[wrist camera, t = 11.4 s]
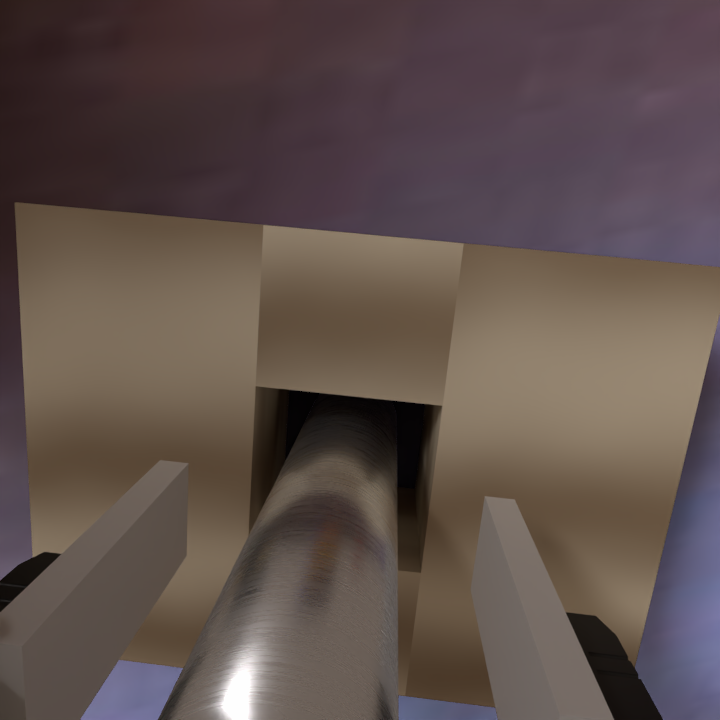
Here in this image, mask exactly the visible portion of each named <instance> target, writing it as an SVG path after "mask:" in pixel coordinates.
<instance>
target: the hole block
mask: <svg viewBox="0 0 720 720" xmlns="http://www.w3.org/2000/svg"><path fill="white" fill-rule="evenodd" d="M15 219H16V239H17V258H18V278H19V298H20V317H21V337H22V356H23V376H24V396H25V415H26V435H27V454H28V474H29V494H30V513H31V533H32V552H33V557H35V556H37V555H39V554H41V553H43V552H50V553H59V554H62V553H63V552H64V551H65V550H66V549H67V548H68V547H69V546H70V545H72V544H73V543H74V542H75V541H76V540H77V539H78V538H79V537H80V536H81V535H82V534H83V533H84V532H85V531H86V530H87V529H88V528H89V527H90V526H91V525H93V524H94V523H95V522H96V521H97V520H98V519H99V518H100V517H101V516H102V515H103V514H104V513H105V512H106V511H107V510H108V509H109V508H110V507H111V506H112V505H114V504H115V503H116V502H117V501H118V500H119V499H120V498H121V497H122V496H123V495H124V494H125V493H126V492H127V491H128V490H129V489H130V488H131V487H132V486H133V485H135V484H136V483H137V482H138V481H139V480H140V479H141V478H142V477H143V476H144V475H145V474H146V473H147V472H148V471H149V470H150V469H151V468H152V467H153V466H154V465H156V464H157V463H158V462H159V461H160V460H164V461H173V462H182V463H189V464H188V514H187V556H186V558H185V559H184V561H183V562H182V564H181V565H180V567H179V568H178V570H177V572H176V573H175V575H174V576H173V578H172V579H171V581H170V582H169V584H168V585H167V587H166V588H165V590H164V591H163V593H162V595H161V596H160V598H159V599H158V601H157V602H156V604H155V605H154V607H153V608H152V610H151V611H150V613H149V614H148V616H147V617H146V619H145V621H144V622H143V624H142V625H141V627H140V628H139V630H138V631H137V633H136V634H135V636H134V637H133V639H132V640H131V642H130V644H129V645H128V647H127V648H126V650H125V651H124V653H123V654H122V656H121V657H120V659H119V660H126V661H133V662H141V663H149V664H157V665H165V666H173V667H181V668H184V666H185V664H186V662H187V660H188V658H189V656H190V654H191V652H192V650H193V648H194V646H195V644H196V642H197V639H198V637H199V635H200V633H201V631H202V629H203V627H204V625H205V623H206V621H207V619H208V617H209V615H210V613H211V611H212V609H213V607H214V605H215V603H216V601H217V599H218V597H219V595H220V593H221V591H222V589H223V587H224V585H225V583H226V581H227V579H228V577H229V575H230V572H231V570H232V568H233V566H234V564H235V562H236V560H237V558H238V556H239V554H240V552H241V550H242V548H243V546H244V544H245V542H246V540H247V538H248V536H249V534H250V532H251V530H252V528H253V526H254V524H255V522H256V520H257V518H258V516H259V514H260V512H261V510H262V508H263V505H264V503H265V501H266V499H267V497H268V495H269V493H270V491H271V489H272V487H273V485H274V483H275V481H276V479H277V477H278V475H279V473H280V471H281V469H282V467H283V465H284V463H285V456H286V440H287V424H288V408H289V392H290V390H297V391H306V392H316V393H326V394H335V395H345V396H354V397H364V398H373V399H383V400H392V401H402V402H412V403H421V404H425V407H424V416H423V424H422V432H421V440H420V448H419V457H418V465H417V473H416V481H415V489H414V488H405V487H397V519H398V695H401V696H409V697H417V698H425V699H433V700H440V701H448V702H456V703H464V704H472V705H480V706H488V707H495V703H494V698H493V694H492V689H491V684H490V679H489V675H488V670H487V665H486V661H485V656H484V651H483V646H482V642H481V637H480V632H479V628H478V623H477V618H476V613H475V609H474V604H473V599H472V594H471V590H470V589H471V583H472V576H473V570H474V563H475V557H476V550H477V544H478V537H479V531H480V524H481V518H482V511H483V505H484V498H485V496H488V497H497V498H506V499H515V501H516V504H517V506H518V508H519V510H520V512H521V515H522V517H523V519H524V521H525V524H526V526H527V528H528V530H529V532H530V535H531V537H532V539H533V541H534V543H535V546H536V548H537V550H538V552H539V555H540V557H541V559H542V561H543V563H544V566H545V568H546V570H547V572H548V574H549V577H550V579H551V581H552V583H553V586H554V588H555V590H556V592H557V594H558V597H559V599H560V601H561V603H562V605H563V608H564V610H565V612H569V613H577V614H585V615H594V616H597V617H598V618H599V619H600V620H601V621H602V622H603V623H604V624H605V625H606V626H607V627H608V628H609V629H610V630H611V631H612V632H613V633H615V634H616V636H617V637H618V639H619V641H620V643H621V645H622V646H623V648H624V650H625V652H626V654H627V655H628V660H629V661H631V663H632V664H633V666H634V668H635V664H636V660H637V656H638V652H639V648H640V643H641V639H642V635H643V631H644V627H645V623H646V618H647V614H648V610H649V606H650V602H651V598H652V593H653V589H654V585H655V581H656V577H657V573H658V568H659V564H660V560H661V556H662V552H663V548H664V543H665V539H666V535H667V531H668V527H669V523H670V518H671V514H672V510H673V506H674V502H675V497H676V493H677V489H678V485H679V481H680V477H681V472H682V468H683V464H684V460H685V456H686V452H687V447H688V443H689V439H690V435H691V431H692V427H693V422H694V418H695V414H696V410H697V406H698V402H699V397H700V393H701V389H702V385H703V381H704V377H705V372H706V368H707V364H708V360H709V356H710V352H711V347H712V343H713V339H714V335H715V331H716V327H717V322H718V318H719V314H720V267H712V266H702V265H692V264H681V263H671V262H661V261H650V260H640V259H629V258H618V257H607V256H597V255H586V254H575V253H564V252H553V251H542V250H532V249H521V248H510V247H499V246H488V245H477V244H466V243H456V242H445V241H434V240H423V239H412V238H401V237H390V236H380V235H369V234H358V233H347V232H336V231H325V230H314V229H304V228H293V227H282V226H271V225H260V224H249V223H238V222H228V221H217V220H206V219H195V218H184V217H173V216H163V215H152V214H141V213H130V212H119V211H108V210H97V209H85V208H74V207H63V206H51V205H40V204H29V203H17V202H15Z"/></svg>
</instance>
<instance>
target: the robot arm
mask: <svg viewBox="0 0 720 720" xmlns="http://www.w3.org/2000/svg"><path fill="white" fill-rule="evenodd" d="M188 464H189V463H182V462H173V461H164V460H160V461H159V462H158V463H157V464H156V465H154V466H153V467H152V468H151V469H150V470H149V471H148V472H147V473H146V474H145V475H144V476H143V477H142V478H141V479H140V480H139V481H138V482H137V483H136V484H135V485H133V486H132V487H131V488H130V489H129V490H128V491H127V492H126V493H125V494H124V495H123V496H122V497H121V498H120V499H119V500H118V501H117V502H116V503H115V504H114V505H112V506H111V507H110V508H109V509H108V510H107V511H106V512H105V513H104V514H103V515H102V516H101V517H100V518H99V519H98V520H97V521H96V522H95V523H94V524H93V525H91V526H90V527H89V528H88V529H87V530H86V531H85V532H84V533H83V534H82V535H81V536H80V537H79V538H78V539H77V540H76V541H75V542H74V543H73V544H72V545H70V546H69V547H68V548H67V549H66V550H65V551H64V552H63V553H62V554H59V553H50V552H43V553H41V554H39V555H37V556H35V557H33V558H31V559H29V560H27V561H25V562H23V563H21V564H19V565H18V566H17V567H15V568H14V569H13V570H12V571H11V572H10V573H9V574H7V575H6V576H5V577H4V578H3V579H2V580H1V581H0V720H80V719H81V717H82V716H83V714H84V712H85V711H86V709H87V708H88V706H89V705H90V703H91V702H92V700H93V699H94V697H95V696H96V694H97V693H98V691H99V690H100V688H101V686H102V685H103V683H104V682H105V680H106V679H107V677H108V676H109V674H110V673H111V671H112V670H113V668H114V667H115V665H116V663H117V662H118V660H119V659H120V657H121V656H122V654H123V653H124V651H125V650H126V648H127V647H128V645H129V644H130V642H131V640H132V639H133V637H134V636H135V634H136V633H137V631H138V630H139V628H140V627H141V625H142V624H143V622H144V621H145V619H146V617H147V616H148V614H149V613H150V611H151V610H152V608H153V607H154V605H155V604H156V602H157V601H158V599H159V598H160V596H161V595H162V593H163V591H164V590H165V588H166V587H167V585H168V584H169V582H170V581H171V579H172V578H173V576H174V575H175V573H176V572H177V570H178V568H179V567H180V565H181V564H182V562H183V561H184V559H185V558H186V556H187V514H188ZM470 590H471V594H472V599H473V604H474V609H475V613H476V618H477V623H478V628H479V632H480V637H481V642H482V646H483V651H484V656H485V661H486V665H487V670H488V675H489V679H490V684H491V689H492V694H493V698H494V703H495V708H496V713H497V717H498V720H663V719H662V717H661V715H660V713H659V711H658V710H657V708H656V706H655V704H654V702H653V701H652V699H651V697H650V695H649V693H648V692H647V690H646V688H645V686H644V684H643V683H642V681H641V679H638V674H637V672H636V670H635V668H634V666H633V664H632V663H631V661H629V660H628V655H627V654H626V652H625V650H624V648H623V646H622V645H621V643H620V641H619V639H618V637H617V636H616V634H615V633H613V632H612V631H611V630H610V629H609V628H608V627H607V626H606V625H605V624H604V623H603V622H602V621H601V620H600V619H599V618H598V617H597V616H594V615H585V614H577V613H569V612H565V610H564V608H563V605H562V603H561V601H560V599H559V597H558V594H557V592H556V590H555V588H554V586H553V583H552V581H551V579H550V577H549V574H548V572H547V570H546V568H545V566H544V563H543V561H542V559H541V557H540V555H539V552H538V550H537V548H536V546H535V543H534V541H533V539H532V537H531V535H530V532H529V530H528V528H527V526H526V524H525V521H524V519H523V517H522V515H521V512H520V510H519V508H518V506H517V504H516V501H515V499H506V498H497V497H488V496H485V498H484V505H483V511H482V518H481V524H480V531H479V537H478V544H477V550H476V557H475V563H474V570H473V576H472V583H471V589H470Z"/></svg>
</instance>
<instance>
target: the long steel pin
mask: <svg viewBox="0 0 720 720" xmlns="http://www.w3.org/2000/svg"><path fill="white" fill-rule="evenodd" d="M158 720H398V519H397V414H396V410H395V407H394V404H393V402H392V401H391V400H383V399H373V398H364V397H354V396H345V395H335V394H326V393H320V394H319V395H318V397H317V398H316V400H315V402H314V404H313V406H312V408H311V410H310V412H309V414H308V416H307V418H306V420H305V422H304V424H303V426H302V428H301V430H300V432H299V434H298V436H297V438H296V440H295V443H294V445H293V447H292V449H291V451H290V453H289V455H288V457H287V459H286V461H285V463H284V465H283V467H282V469H281V471H280V473H279V475H278V477H277V479H276V481H275V483H274V485H273V487H272V489H271V491H270V493H269V495H268V497H267V499H266V501H265V503H264V505H263V508H262V510H261V512H260V514H259V516H258V518H257V520H256V522H255V524H254V526H253V528H252V530H251V532H250V534H249V536H248V538H247V540H246V542H245V544H244V546H243V548H242V550H241V552H240V554H239V556H238V558H237V560H236V562H235V564H234V566H233V568H232V570H231V572H230V575H229V577H228V579H227V581H226V583H225V585H224V587H223V589H222V591H221V593H220V595H219V597H218V599H217V601H216V603H215V605H214V607H213V609H212V611H211V613H210V615H209V617H208V619H207V621H206V623H205V625H204V627H203V629H202V631H201V633H200V635H199V637H198V639H197V642H196V644H195V646H194V648H193V650H192V652H191V654H190V656H189V658H188V660H187V662H186V664H185V666H184V668H183V670H182V672H181V674H180V676H179V678H178V680H177V682H176V684H175V686H174V688H173V690H172V692H171V694H170V696H169V698H168V700H167V702H166V704H165V707H164V709H163V711H162V713H161V715H160V717H159V719H158Z"/></svg>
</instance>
